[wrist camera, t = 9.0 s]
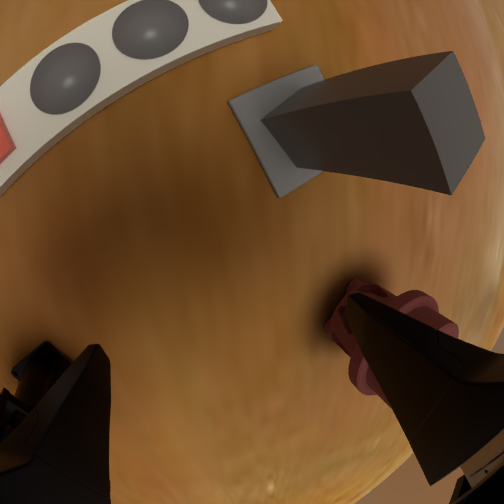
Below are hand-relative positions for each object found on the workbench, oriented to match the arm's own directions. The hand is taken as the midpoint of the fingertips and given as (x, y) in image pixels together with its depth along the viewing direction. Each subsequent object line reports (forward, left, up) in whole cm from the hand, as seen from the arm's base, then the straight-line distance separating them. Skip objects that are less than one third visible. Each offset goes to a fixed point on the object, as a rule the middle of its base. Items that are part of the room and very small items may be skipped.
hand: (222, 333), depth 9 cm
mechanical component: (+10, -15, -12) cm, 22 cm away
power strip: (+2, +14, -12) cm, 18 cm away
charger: (+12, +3, -11) cm, 16 cm away
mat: (+12, +3, -12) cm, 17 cm away
